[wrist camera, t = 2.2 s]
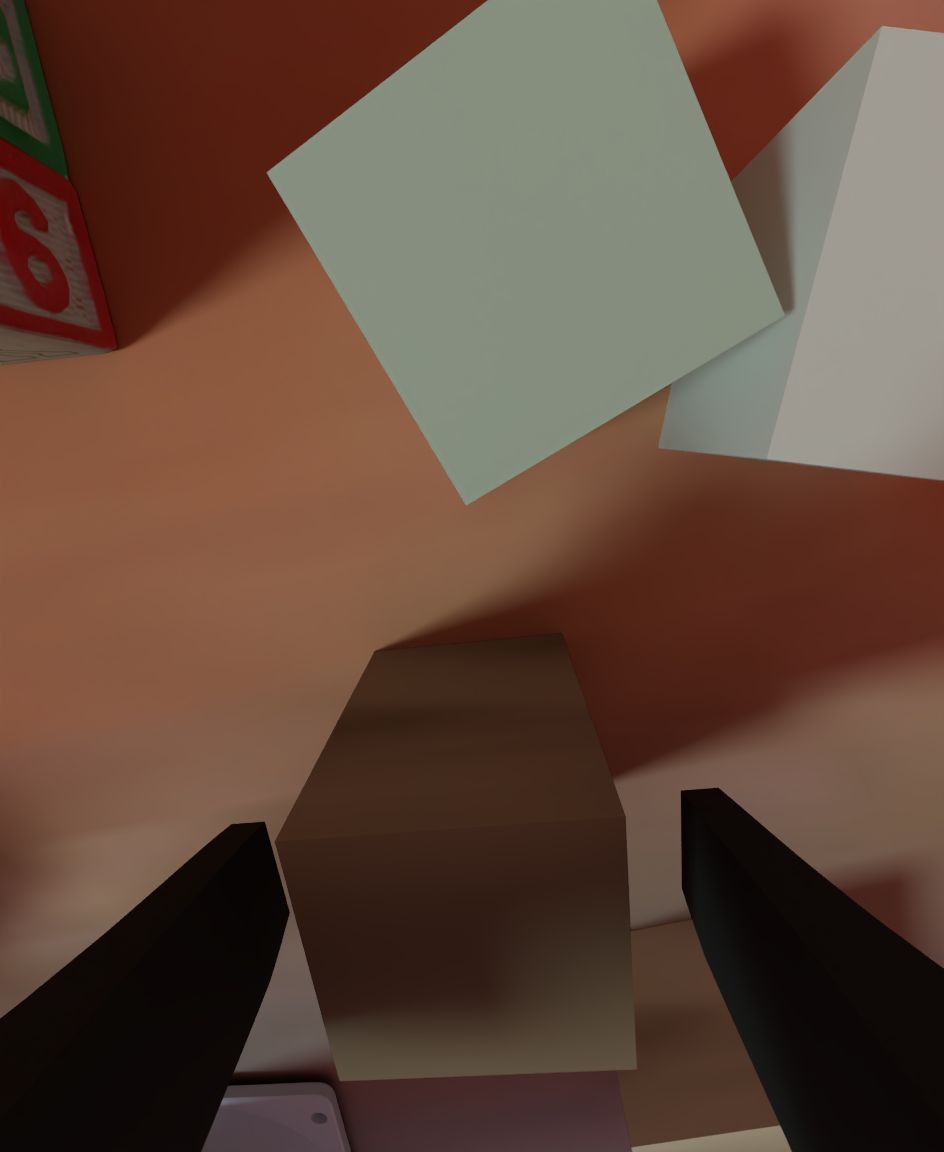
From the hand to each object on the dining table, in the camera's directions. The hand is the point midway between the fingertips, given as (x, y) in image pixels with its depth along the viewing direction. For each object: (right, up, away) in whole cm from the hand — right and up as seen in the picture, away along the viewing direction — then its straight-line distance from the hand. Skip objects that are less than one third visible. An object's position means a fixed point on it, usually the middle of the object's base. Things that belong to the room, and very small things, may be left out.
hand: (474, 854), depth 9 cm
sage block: (+1, +10, +2) cm, 10 cm away
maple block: (+6, -7, +6) cm, 11 cm away
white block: (+6, +9, +1) cm, 11 cm away
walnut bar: (0, +1, +4) cm, 4 cm away
